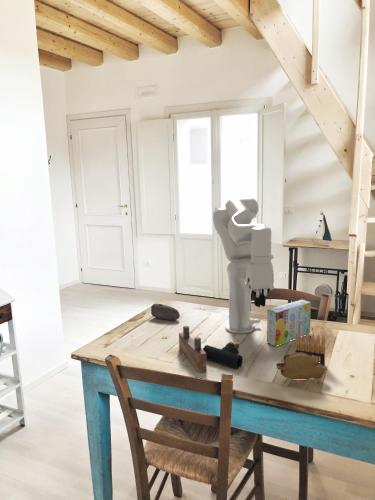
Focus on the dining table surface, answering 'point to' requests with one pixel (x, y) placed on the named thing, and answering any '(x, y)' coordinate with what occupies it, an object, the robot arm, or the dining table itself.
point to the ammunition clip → (311, 347)
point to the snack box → (288, 321)
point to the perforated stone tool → (164, 312)
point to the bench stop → (192, 350)
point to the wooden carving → (300, 366)
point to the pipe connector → (225, 355)
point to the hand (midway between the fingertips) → (259, 305)
